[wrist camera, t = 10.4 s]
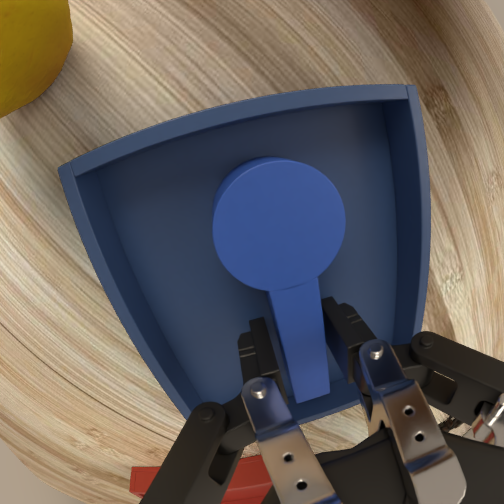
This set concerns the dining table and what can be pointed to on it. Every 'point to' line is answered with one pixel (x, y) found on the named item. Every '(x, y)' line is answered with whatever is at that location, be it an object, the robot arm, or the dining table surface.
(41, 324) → the dining table surface
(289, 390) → the blue tray
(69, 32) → the apple
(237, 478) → the red tray
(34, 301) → the dining table surface
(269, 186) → the spoon
